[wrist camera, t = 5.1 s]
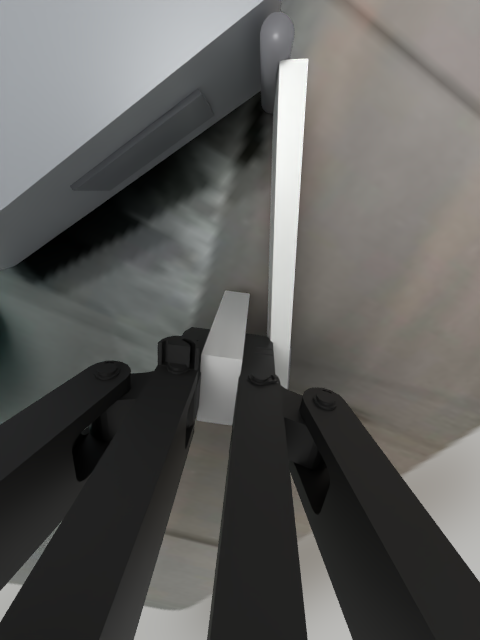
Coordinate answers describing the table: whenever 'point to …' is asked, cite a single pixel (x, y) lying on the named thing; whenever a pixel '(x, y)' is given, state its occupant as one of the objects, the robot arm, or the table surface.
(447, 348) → the table surface
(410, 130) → the table surface
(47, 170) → the grey boxy piece
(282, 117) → the side door
